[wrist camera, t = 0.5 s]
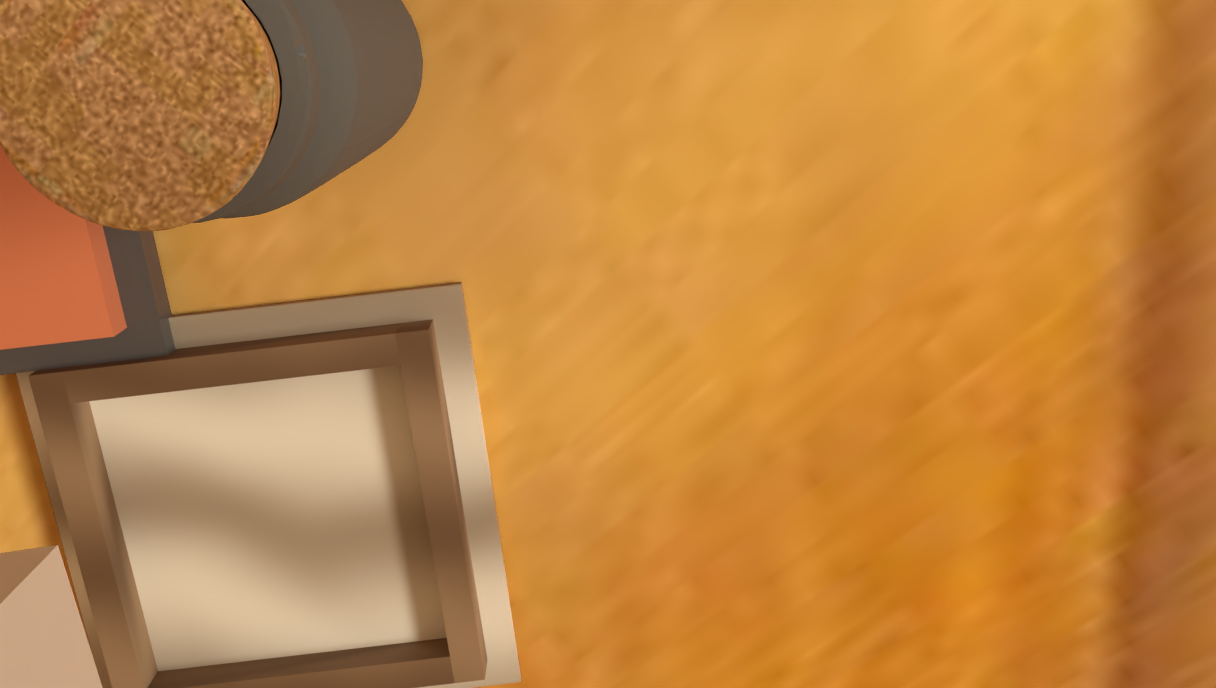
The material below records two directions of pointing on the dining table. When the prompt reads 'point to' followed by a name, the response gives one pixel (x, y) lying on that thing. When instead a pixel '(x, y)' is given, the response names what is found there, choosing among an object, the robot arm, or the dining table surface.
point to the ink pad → (74, 286)
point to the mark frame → (283, 500)
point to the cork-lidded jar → (198, 101)
